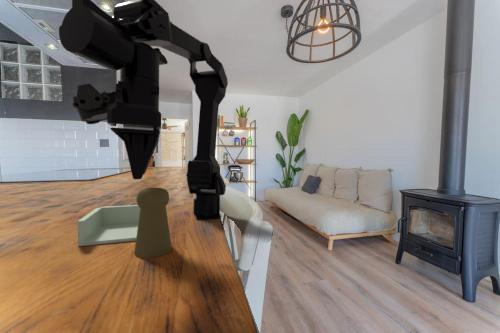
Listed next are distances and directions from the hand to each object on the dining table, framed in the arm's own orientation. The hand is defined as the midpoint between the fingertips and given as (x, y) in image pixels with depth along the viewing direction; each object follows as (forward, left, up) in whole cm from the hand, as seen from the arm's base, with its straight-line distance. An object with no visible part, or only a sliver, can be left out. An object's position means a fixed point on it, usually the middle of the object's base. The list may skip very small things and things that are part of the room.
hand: (139, 176), depth 37 cm
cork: (-2, -1, -13) cm, 14 cm away
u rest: (+5, -12, -13) cm, 18 cm away
